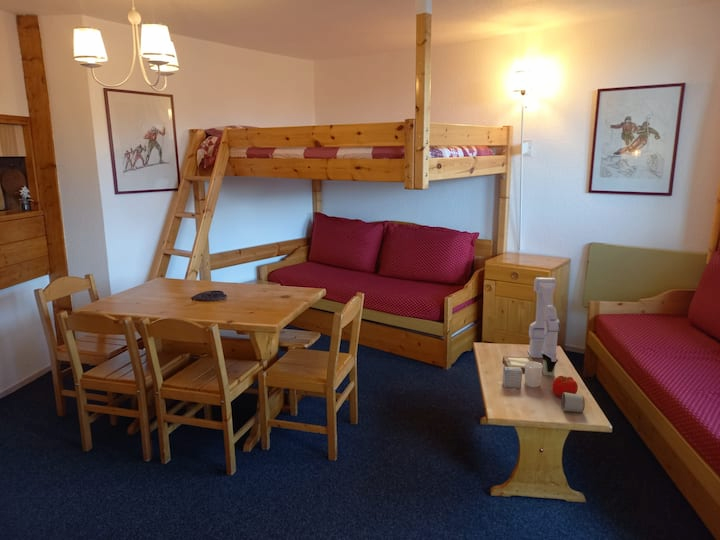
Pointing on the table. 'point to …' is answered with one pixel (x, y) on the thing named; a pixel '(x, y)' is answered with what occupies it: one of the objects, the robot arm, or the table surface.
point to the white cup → (533, 373)
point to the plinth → (516, 362)
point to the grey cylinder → (573, 402)
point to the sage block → (546, 369)
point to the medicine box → (512, 377)
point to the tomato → (564, 385)
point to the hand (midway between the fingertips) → (548, 369)
